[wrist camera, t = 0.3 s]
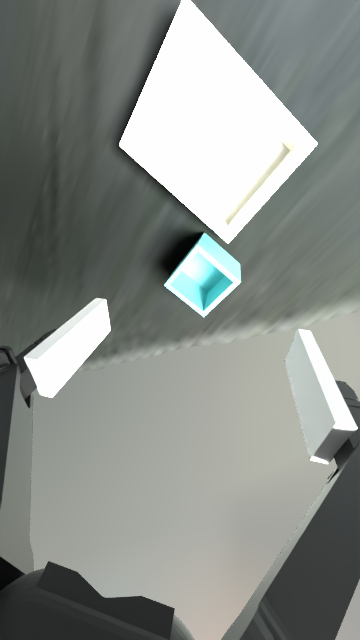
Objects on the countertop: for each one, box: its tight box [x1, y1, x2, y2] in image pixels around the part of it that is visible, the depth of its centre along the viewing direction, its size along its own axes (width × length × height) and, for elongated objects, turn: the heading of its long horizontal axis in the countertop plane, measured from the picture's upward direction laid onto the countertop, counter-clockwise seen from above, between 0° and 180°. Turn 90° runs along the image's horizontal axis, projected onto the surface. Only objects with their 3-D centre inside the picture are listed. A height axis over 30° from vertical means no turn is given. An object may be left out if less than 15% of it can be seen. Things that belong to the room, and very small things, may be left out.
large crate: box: [119, 0, 317, 243], centre depth 28 cm, size 19×14×4 cm
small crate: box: [164, 232, 241, 317], centre depth 36 cm, size 8×8×8 cm
